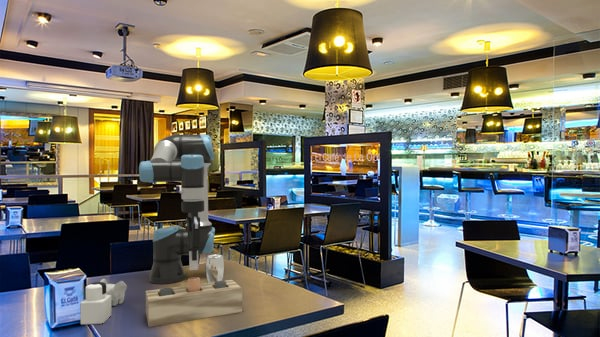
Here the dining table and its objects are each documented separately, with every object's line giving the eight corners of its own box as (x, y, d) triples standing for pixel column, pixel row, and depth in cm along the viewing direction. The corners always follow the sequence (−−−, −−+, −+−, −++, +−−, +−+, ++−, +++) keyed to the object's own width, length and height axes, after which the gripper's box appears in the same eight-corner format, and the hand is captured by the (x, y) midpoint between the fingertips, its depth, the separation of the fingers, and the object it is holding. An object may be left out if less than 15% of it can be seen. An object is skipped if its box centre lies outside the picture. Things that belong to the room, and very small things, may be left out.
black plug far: (213, 304, 143) (213, 281, 143) (224, 302, 144) (224, 280, 144) (216, 307, 139) (215, 284, 139) (227, 305, 141) (227, 283, 141)
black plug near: (159, 312, 135) (159, 288, 135) (172, 310, 137) (171, 287, 137) (160, 316, 132) (160, 292, 132) (173, 314, 133) (173, 290, 133)
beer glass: (220, 298, 154) (219, 258, 154) (202, 297, 155) (202, 257, 155) (226, 292, 161) (226, 254, 161) (210, 291, 162) (210, 254, 162)
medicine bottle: (89, 316, 136) (89, 280, 136) (111, 315, 137) (111, 280, 137) (80, 324, 129) (79, 287, 129) (103, 323, 129) (102, 286, 129)
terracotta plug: (187, 300, 139) (186, 277, 139) (199, 299, 141) (198, 276, 141) (189, 304, 135) (188, 280, 135) (201, 302, 137) (201, 279, 137)
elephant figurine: (86, 308, 144) (86, 283, 144) (113, 298, 155) (113, 275, 155) (106, 311, 141) (106, 286, 141) (132, 301, 152) (132, 277, 152)
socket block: (145, 314, 137) (145, 290, 137) (232, 301, 150) (232, 279, 150) (148, 327, 126) (148, 301, 126) (242, 311, 139) (241, 288, 139)
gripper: (178, 199, 142) (179, 266, 143) (184, 202, 131) (185, 275, 131) (200, 198, 145) (201, 263, 146) (208, 201, 134) (209, 272, 134)
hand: (193, 269), depth 138 cm, fingers closed
